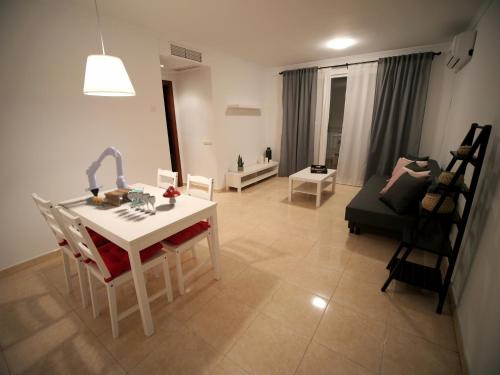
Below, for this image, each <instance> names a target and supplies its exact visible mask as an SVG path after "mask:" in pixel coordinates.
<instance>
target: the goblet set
mask: <svg viewBox="0 0 500 375" xmlns="http://www.w3.org/2000/svg"><path fill="white" fill-rule="evenodd" d="M127 196H128V198H129V199H130V200H129V201H131V203H132V206H131V207H130V209H135V210H140V211H144V212H145V213H150V214H155V213H158V211H157V210H155V209H154V208H155V207H154V205H155V203H156V196H155V195H151V194H150V193H147V192H145V193H144V192H139V191H135V192H129V193H128V195H127ZM134 199H136V201H135V202H136V204H137V206H136V205H134V201H133V200H134ZM139 201H140V202H141V206H142V207H144V203H146V205H147V207H149V204H150V205H151V206H152V209H149V208H142V207H140V206H138V205H139Z"/></svg>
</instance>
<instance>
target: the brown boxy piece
mask: <svg viewBox="0 0 500 375" xmlns="http://www.w3.org/2000/svg"><path fill="white" fill-rule="evenodd" d="M132 190H135V191H136V189H133V188H130V189H127V188H121V189H118V188H117V189H115V190H112V191H109V192H105V193H104V195H103V196H105V201H106V202H107V205H108V206H113V207H121V206H122V205H121V196H120V195H122V200H126V201H131V200H130V199H129V198H128V196H127V195H128V192H129V191H132ZM107 205H106V206H107Z"/></svg>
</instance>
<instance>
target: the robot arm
mask: <svg viewBox="0 0 500 375" xmlns="http://www.w3.org/2000/svg"><path fill="white" fill-rule="evenodd" d="M107 156H112V157H113V158H115V164H116V175H117V176H116V181H115V185H116V187H117V190H118V189H121V188H127V189H131V187H130V185H129V184H126V182H127V180H126V177H125V175H124V166H123V165H124V163H123V156H122V153H121V152H120V151H119V149H118V148H117V147H115V146H108V147H106V149H105V150H104V151H103V152H102V153H101V155H100V156H99V157H98V158H97V159H96V161H95V160H94V161H92V162H91V165H89V166H88V168H87V169H86V171H85V175H87V179H88V184H89V187H87V188H85V189H84V191H85V192H89V191H90V192H91V194H92V195H93V196H97V197H99V196H98V195H99V191H100V189H101V188H103V187H104V186H103V184H98V180H97V177H96V173H97V171H98V170H99V168H100V167H101V165H102V162H103V160H104V159H105V158H106V157H107ZM119 197H120V198H121V197H122V195H120V196H119Z"/></svg>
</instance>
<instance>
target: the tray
mask: <svg viewBox="0 0 500 375" xmlns="http://www.w3.org/2000/svg"><path fill="white" fill-rule="evenodd" d="M85 201H86V204H88V205H92V206H93V205H94V206H99V207H103V206H107V202H106V200H104V197H100V196H98V197H97V196H94V195H93V196H90V197H87V198H85Z"/></svg>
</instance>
